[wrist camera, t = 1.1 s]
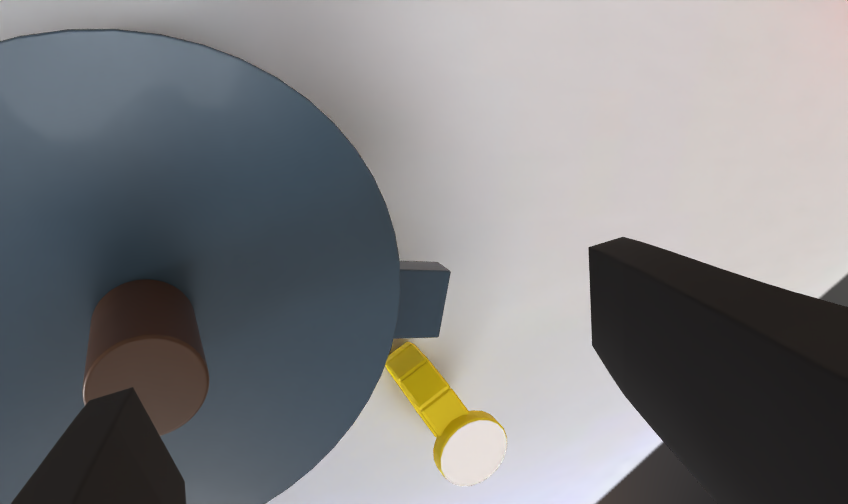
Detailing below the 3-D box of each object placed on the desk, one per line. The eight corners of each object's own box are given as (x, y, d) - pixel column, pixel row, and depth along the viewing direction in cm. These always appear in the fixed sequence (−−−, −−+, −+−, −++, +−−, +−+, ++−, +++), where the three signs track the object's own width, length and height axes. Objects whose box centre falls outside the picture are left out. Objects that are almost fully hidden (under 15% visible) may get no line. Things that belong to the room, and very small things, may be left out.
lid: (355, 494, 22) (405, 595, 18) (-181, 570, 15) (-286, 752, 11) (421, 80, 18) (501, 93, 14) (-243, -37, 12) (-424, -71, 8)
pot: (365, 398, 27) (422, 485, 22) (-203, 439, 19) (-327, 591, 14) (413, 94, 24) (493, 110, 19) (-251, -15, 16) (-437, -40, 10)
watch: (465, 403, 29) (536, 480, 24) (418, 439, 29) (480, 527, 24) (407, 312, 27) (473, 378, 21) (354, 351, 26) (409, 429, 21)
